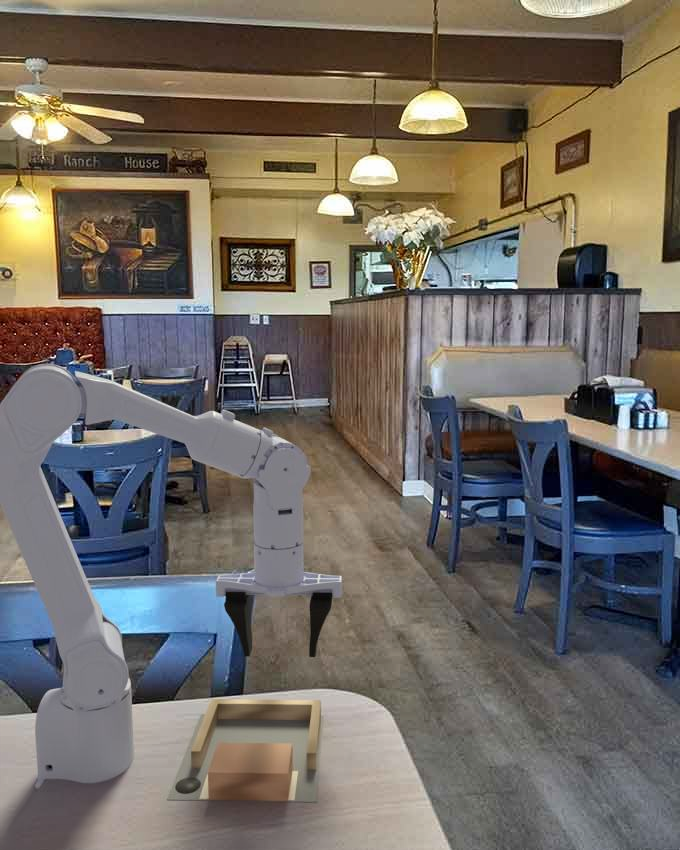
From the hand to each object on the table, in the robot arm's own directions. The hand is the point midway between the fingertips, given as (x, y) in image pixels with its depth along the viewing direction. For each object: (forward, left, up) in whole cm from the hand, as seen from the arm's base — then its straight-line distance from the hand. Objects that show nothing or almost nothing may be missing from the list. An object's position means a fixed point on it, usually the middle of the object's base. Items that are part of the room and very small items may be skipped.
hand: (280, 652), depth 82 cm
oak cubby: (-2, -4, -9) cm, 10 cm away
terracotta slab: (-2, -11, -9) cm, 15 cm away
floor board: (-2, -6, -9) cm, 12 cm away
